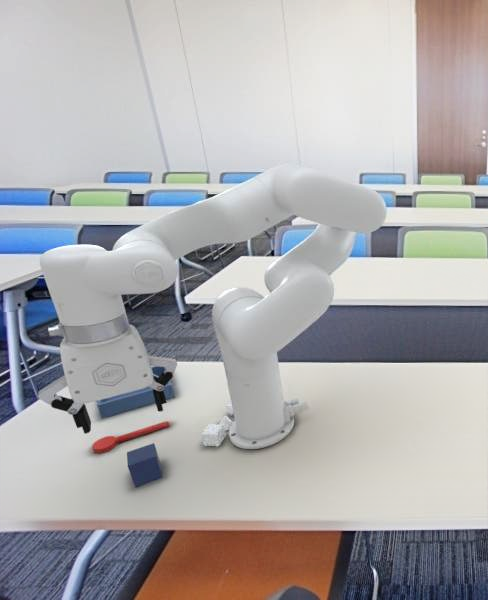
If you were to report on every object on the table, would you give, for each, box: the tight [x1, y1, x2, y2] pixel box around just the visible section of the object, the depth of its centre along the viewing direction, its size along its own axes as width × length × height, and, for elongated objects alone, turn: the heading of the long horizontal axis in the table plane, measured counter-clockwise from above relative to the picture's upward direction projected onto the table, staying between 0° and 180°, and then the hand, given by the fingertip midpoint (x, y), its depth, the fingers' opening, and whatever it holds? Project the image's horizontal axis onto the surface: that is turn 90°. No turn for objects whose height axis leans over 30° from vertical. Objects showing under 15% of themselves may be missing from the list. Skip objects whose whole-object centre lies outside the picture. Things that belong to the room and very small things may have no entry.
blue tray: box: [96, 366, 176, 419], centre depth 92 cm, size 13×11×4 cm
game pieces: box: [200, 400, 234, 447], centre depth 84 cm, size 12×3×3 cm, turn 1°
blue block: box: [126, 442, 164, 488], centre depth 71 cm, size 4×4×5 cm
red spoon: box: [91, 421, 170, 454], centre depth 80 cm, size 12×4×1 cm, turn 128°
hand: (125, 417), depth 67 cm, fingers open, 9 cm apart
